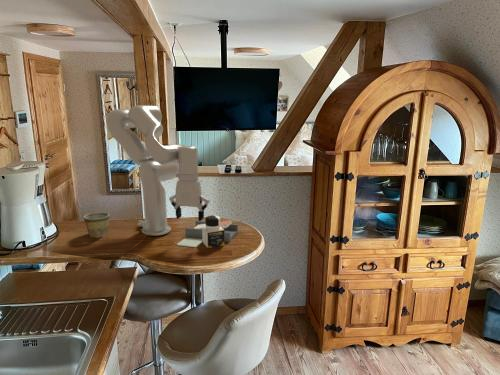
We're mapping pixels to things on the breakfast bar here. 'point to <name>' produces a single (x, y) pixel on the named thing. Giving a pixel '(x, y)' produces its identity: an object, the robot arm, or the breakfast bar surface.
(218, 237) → the medicine bottle
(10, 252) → the breakfast bar surface
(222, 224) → the rocker
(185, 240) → the sage mat
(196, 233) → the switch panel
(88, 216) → the ceramic cup
